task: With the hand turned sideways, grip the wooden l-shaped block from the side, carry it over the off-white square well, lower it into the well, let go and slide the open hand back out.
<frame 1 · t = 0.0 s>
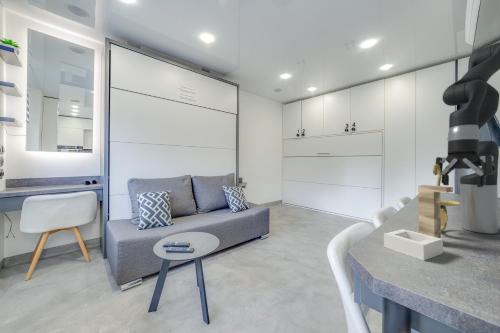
hand: (462, 186, 69), 17 cm above the table, tool pointing down, fingers open, 8 cm apart
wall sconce: (441, 232, 73), on the table, touching hand
square well: (412, 249, 58), on the table
wooden l-shaped block: (429, 241, 64), on the table
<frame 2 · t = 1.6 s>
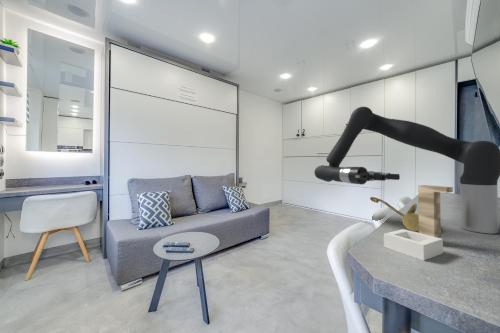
hand: (392, 177, 74), 20 cm above the table, tool horizontal, fingers open, 8 cm apart
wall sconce: (441, 230, 74), point 1 cm above the table
everything else where it was.
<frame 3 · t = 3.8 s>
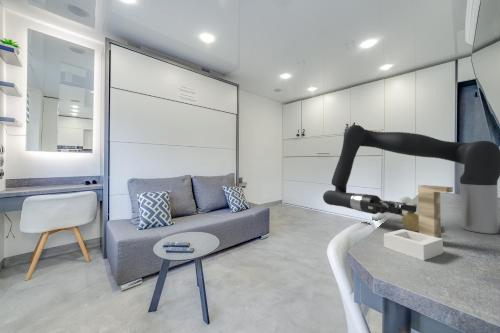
hand: (408, 210, 70), 9 cm above the table, tool horizontal, fingers open, 8 cm apart
nothing on the table moved.
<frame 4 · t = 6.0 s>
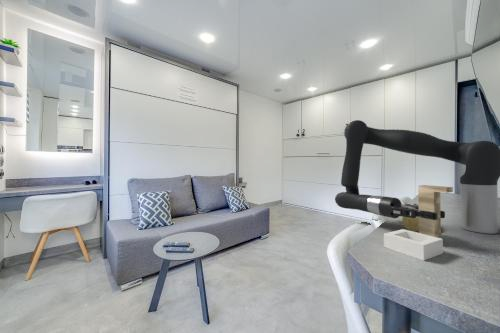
hand: (440, 215, 62), 9 cm above the table, tool horizontal, fingers closed on wooden l-shaped block, 4 cm apart
wooden l-shaped block: (429, 241, 64), on the table, touching gripper
everything else where it was.
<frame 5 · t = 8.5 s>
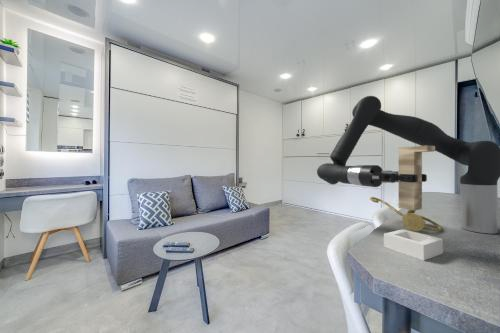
hand: (421, 178, 56), 21 cm above the table, tool horizontal, fingers closed on wooden l-shaped block, 4 cm apart
wooden l-shaped block: (410, 208, 59), point 12 cm above the table, touching gripper
everything else where it was.
when the fingers open (10 cm above the table, at t = 11.0 s): wooden l-shaped block stays where it is, resting in square well.
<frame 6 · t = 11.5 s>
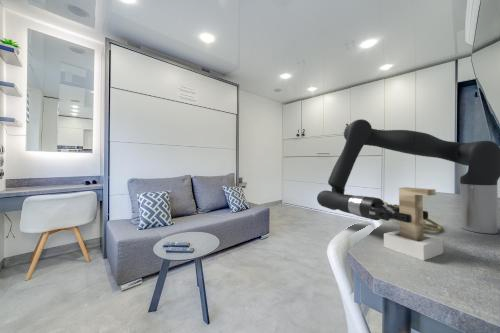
hand: (419, 217, 57), 10 cm above the table, tool horizontal, fingers open, 8 cm apart
wooden l-shaped block: (411, 249, 58), resting in square well
everything else where it was.
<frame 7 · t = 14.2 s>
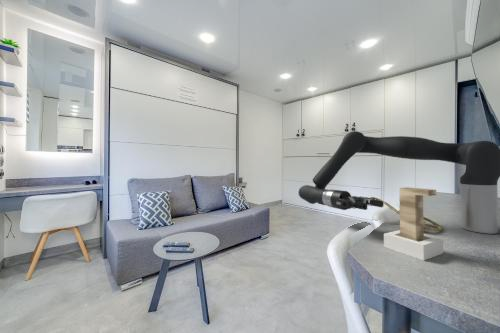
hand: (374, 205, 68), 11 cm above the table, tool horizontal, fingers open, 8 cm apart
nothing on the table moved.
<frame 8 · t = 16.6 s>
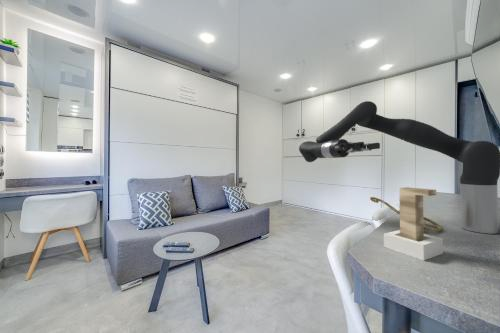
hand: (371, 145, 71), 32 cm above the table, tool horizontal, fingers open, 8 cm apart
nothing on the table moved.
at the end: wooden l-shaped block 0.1 cm off-centre on the square well, point 0.0 cm above the square well's base; wooden l-shaped block tilted 0°; the gripper is holding nothing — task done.
